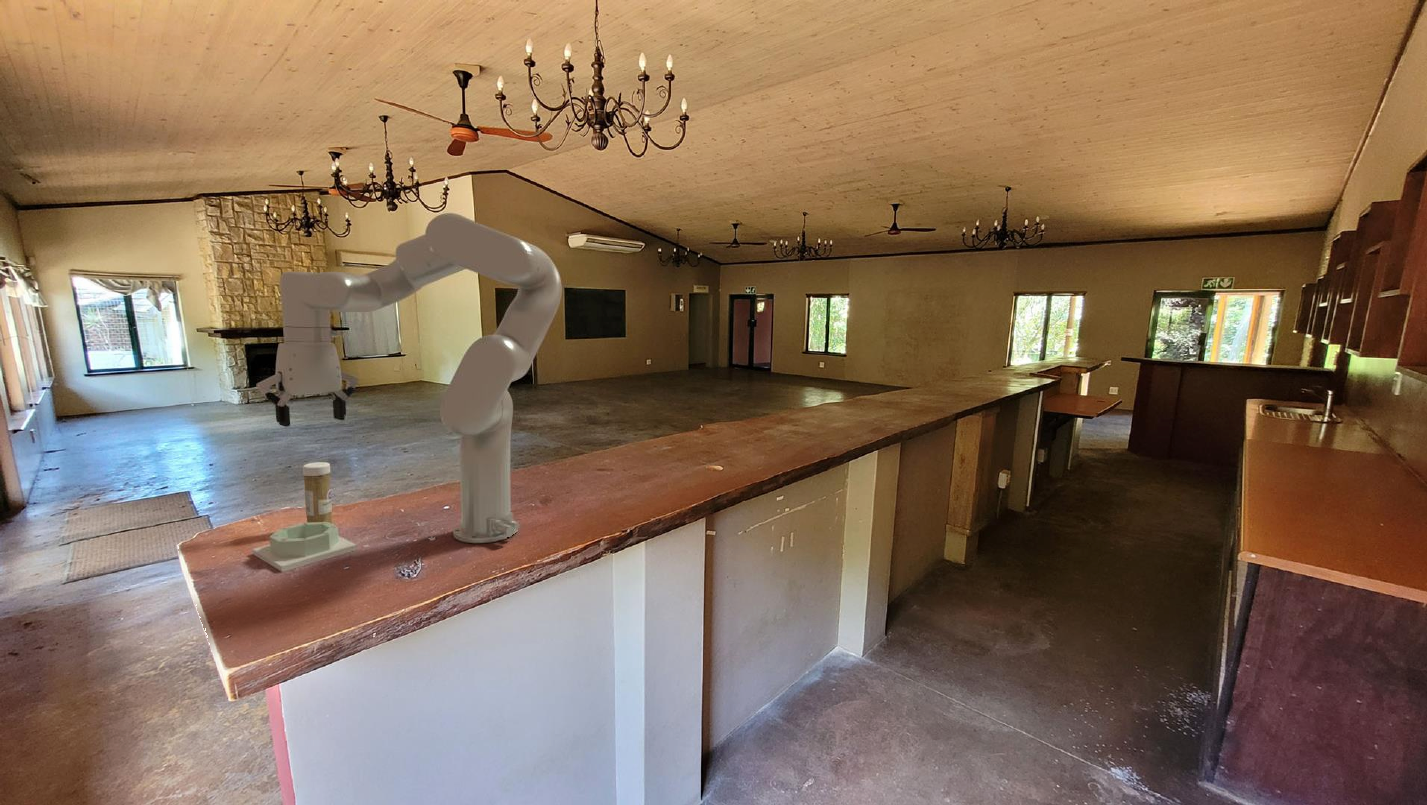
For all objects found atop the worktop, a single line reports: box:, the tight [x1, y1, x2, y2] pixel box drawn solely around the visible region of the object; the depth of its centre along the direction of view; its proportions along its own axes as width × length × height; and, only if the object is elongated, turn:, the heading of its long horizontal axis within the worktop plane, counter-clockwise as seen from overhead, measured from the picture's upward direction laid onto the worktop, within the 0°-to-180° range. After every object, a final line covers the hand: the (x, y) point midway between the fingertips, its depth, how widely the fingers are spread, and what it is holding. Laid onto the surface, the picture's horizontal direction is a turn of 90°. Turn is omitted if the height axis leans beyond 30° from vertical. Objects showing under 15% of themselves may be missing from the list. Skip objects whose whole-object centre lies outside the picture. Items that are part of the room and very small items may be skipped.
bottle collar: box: [252, 522, 358, 573], centre depth 104 cm, size 12×12×4 cm
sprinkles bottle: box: [302, 461, 334, 525], centre depth 115 cm, size 5×5×13 cm
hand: (312, 422), depth 113 cm, fingers open, 9 cm apart
